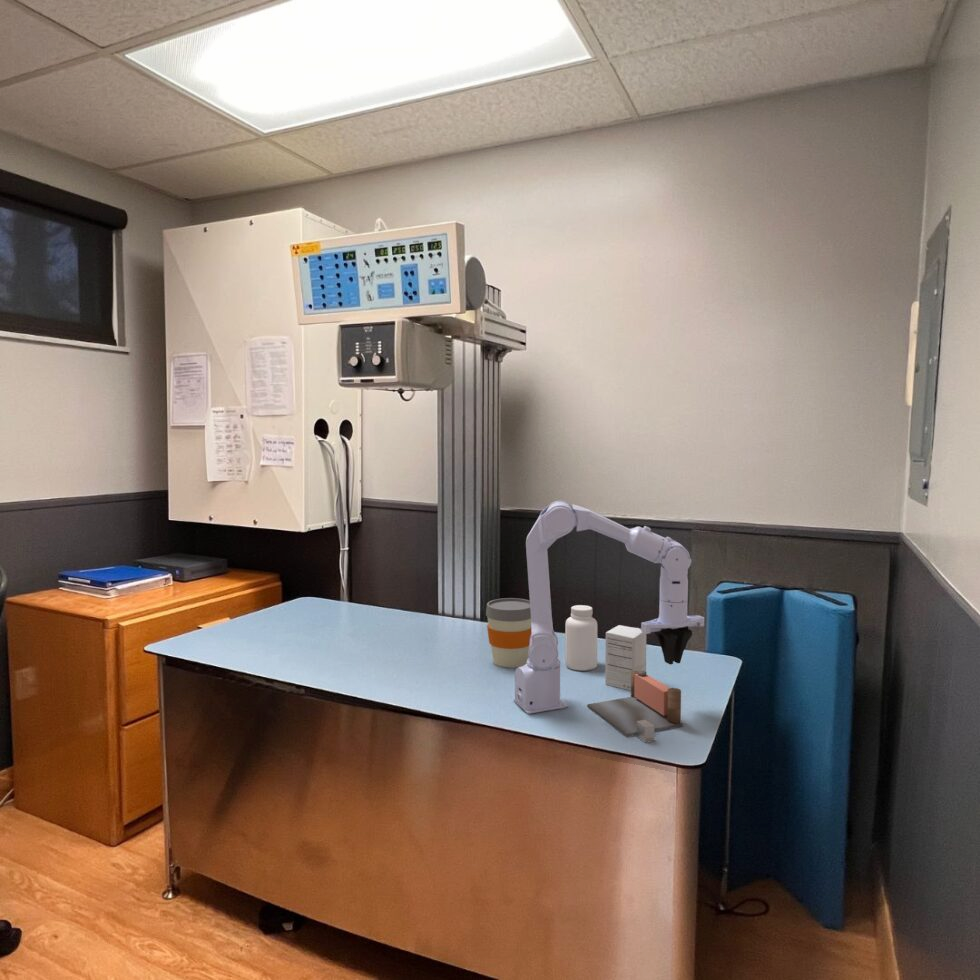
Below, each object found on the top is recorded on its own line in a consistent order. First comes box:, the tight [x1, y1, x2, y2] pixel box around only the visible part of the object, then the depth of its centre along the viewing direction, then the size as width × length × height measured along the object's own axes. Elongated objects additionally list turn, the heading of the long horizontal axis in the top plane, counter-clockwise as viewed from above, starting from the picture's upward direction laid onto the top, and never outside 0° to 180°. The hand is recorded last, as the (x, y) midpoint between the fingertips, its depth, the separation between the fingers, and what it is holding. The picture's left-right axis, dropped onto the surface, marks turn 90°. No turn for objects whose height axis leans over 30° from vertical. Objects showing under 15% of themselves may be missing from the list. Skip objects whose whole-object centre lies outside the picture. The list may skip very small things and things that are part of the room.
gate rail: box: [634, 670, 670, 716], centre depth 146 cm, size 2×11×6 cm, turn 21°
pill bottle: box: [564, 604, 598, 672], centre depth 173 cm, size 8×8×15 cm
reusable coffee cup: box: [485, 597, 532, 668], centre depth 177 cm, size 13×13×15 cm
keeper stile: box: [636, 720, 655, 744], centre depth 133 cm, size 2×3×3 cm, turn 21°
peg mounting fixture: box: [586, 671, 684, 738], centre depth 143 cm, size 13×16×7 cm
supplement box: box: [604, 624, 647, 691], centre depth 161 cm, size 7×7×13 cm
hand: (672, 662), depth 146 cm, fingers closed
